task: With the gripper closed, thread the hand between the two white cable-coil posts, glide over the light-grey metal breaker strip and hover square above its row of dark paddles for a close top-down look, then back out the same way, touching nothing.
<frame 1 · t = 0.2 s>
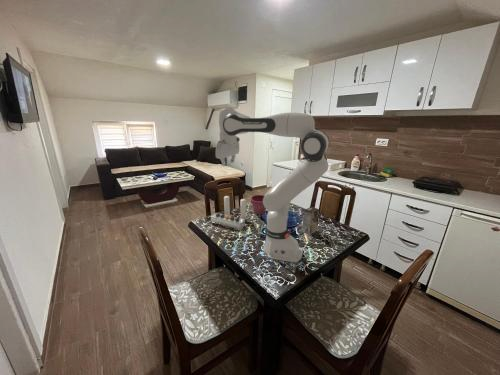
hand: (228, 163, 120), 48 cm above the table, fingers open, 8 cm apart
cord post near: (243, 219, 158), on the table
breaker strip: (227, 224, 151), on the table
coffee box: (309, 231, 143), on the table
cord post far: (227, 216, 163), on the table
plant pot: (259, 212, 170), on the table
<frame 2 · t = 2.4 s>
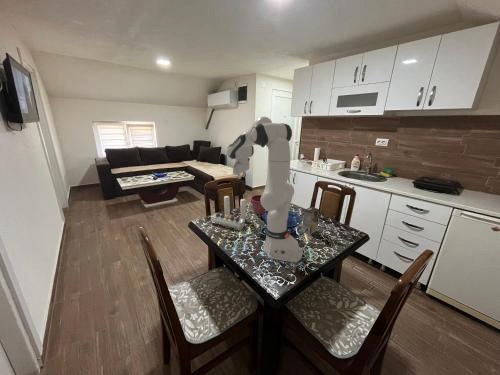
hand: (241, 177, 161), 29 cm above the table, fingers open, 5 cm apart
nothing on the table moved.
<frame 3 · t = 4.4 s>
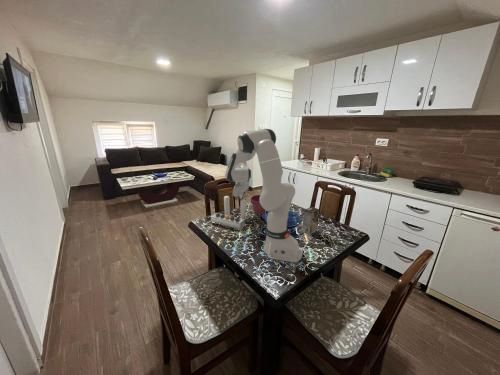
hand: (241, 198, 166), 12 cm above the table, fingers closed
nothing on the table moved.
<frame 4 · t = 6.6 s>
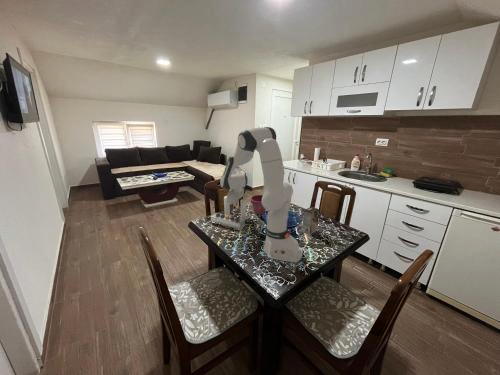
hand: (235, 205, 158), 10 cm above the table, fingers closed
nothing on the table moved.
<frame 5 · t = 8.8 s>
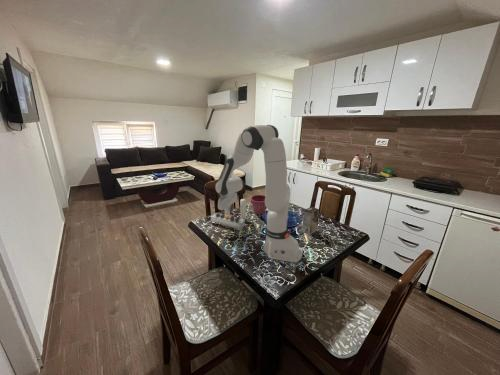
hand: (228, 211, 149), 10 cm above the table, fingers closed
nothing on the table moved.
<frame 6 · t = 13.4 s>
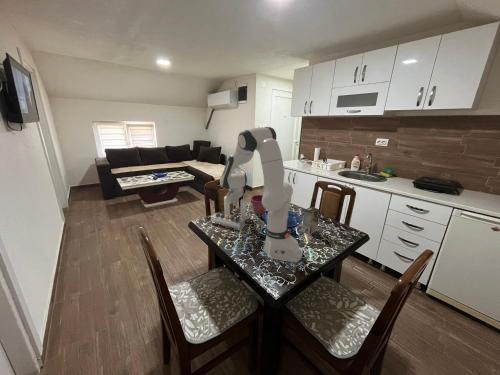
hand: (235, 205, 158), 10 cm above the table, fingers closed
nothing on the table moved.
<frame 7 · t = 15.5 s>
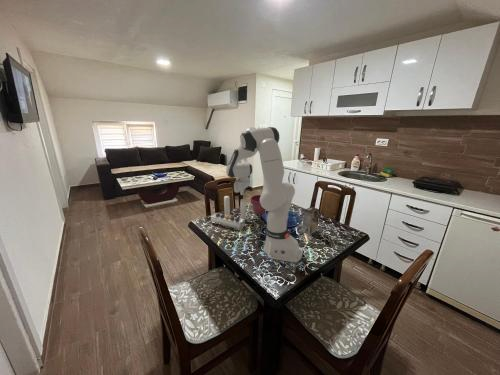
hand: (242, 194, 165), 15 cm above the table, fingers closed
nothing on the table moved.
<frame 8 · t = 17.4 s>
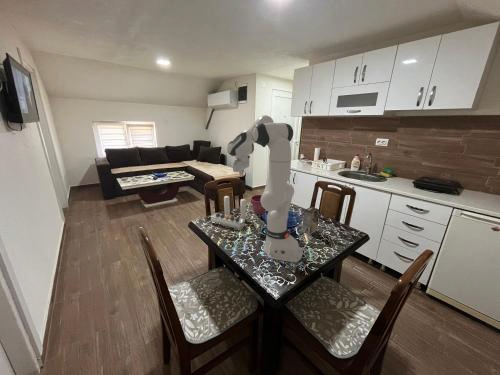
hand: (241, 175, 160), 31 cm above the table, fingers closed
nothing on the table moved.
at the end: cord post near moved 0.0 cm from its start; cord post far moved 0.0 cm from its start; cord post near tilted 0° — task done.
